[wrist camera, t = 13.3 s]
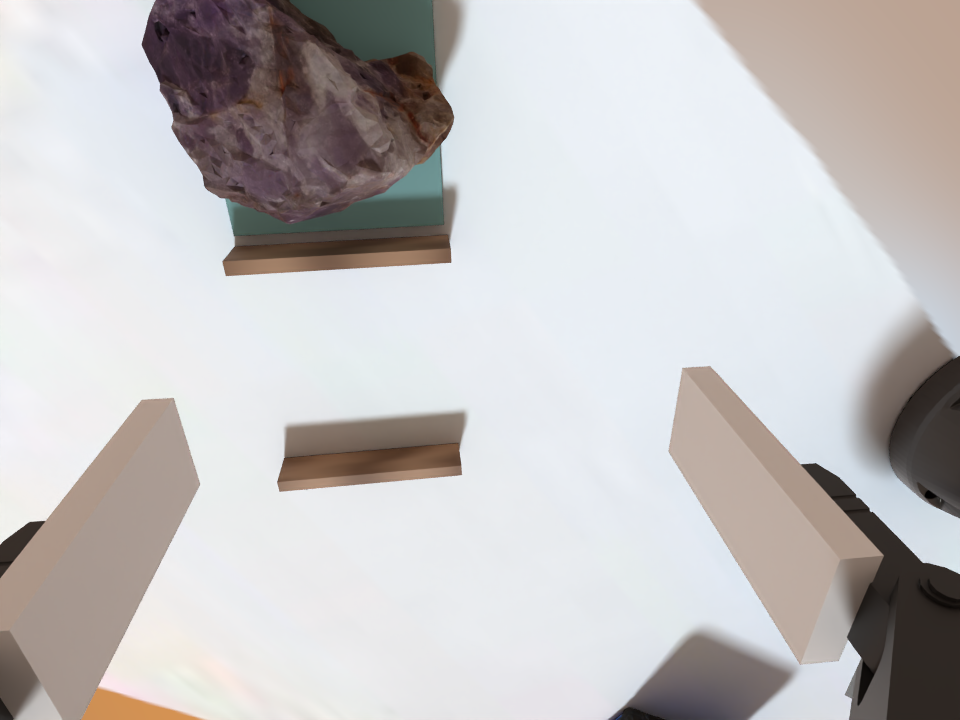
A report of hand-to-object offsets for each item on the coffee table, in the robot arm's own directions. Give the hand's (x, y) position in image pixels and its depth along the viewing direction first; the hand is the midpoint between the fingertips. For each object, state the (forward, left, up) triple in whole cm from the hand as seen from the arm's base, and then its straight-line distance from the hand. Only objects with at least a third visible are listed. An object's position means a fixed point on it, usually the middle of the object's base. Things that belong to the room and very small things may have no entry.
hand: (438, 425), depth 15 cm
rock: (+5, -6, -20) cm, 22 cm away
